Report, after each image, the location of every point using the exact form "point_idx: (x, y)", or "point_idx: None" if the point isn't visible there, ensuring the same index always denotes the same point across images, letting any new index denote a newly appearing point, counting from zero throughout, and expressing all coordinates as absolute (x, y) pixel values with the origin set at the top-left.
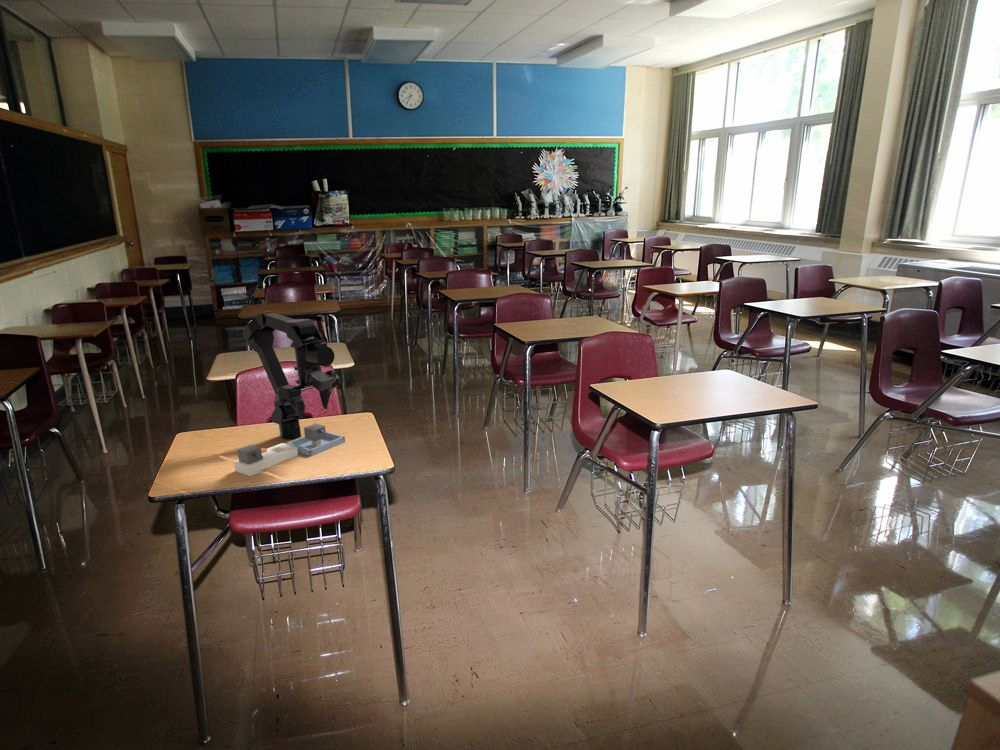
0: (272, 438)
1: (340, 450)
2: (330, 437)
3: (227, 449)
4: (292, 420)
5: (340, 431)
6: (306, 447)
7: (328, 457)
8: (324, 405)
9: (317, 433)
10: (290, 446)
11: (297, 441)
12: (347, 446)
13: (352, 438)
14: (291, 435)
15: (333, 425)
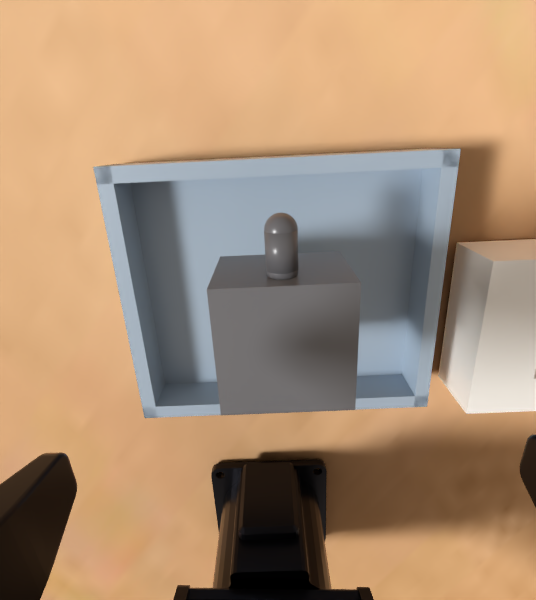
0: None
1: (211, 91)
2: (147, 307)
3: (513, 588)
4: (273, 591)
5: (21, 381)
6: None
7: (353, 49)
8: (42, 521)
9: (308, 269)
10: (496, 318)
11: None
12: (129, 114)
13: (20, 218)
14: (300, 491)
15: None
